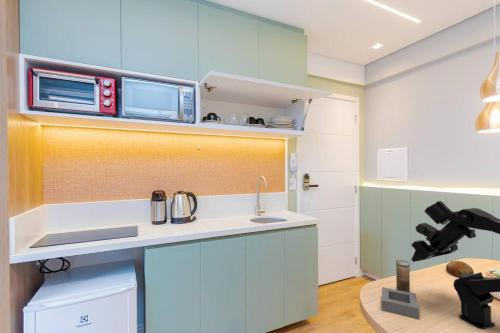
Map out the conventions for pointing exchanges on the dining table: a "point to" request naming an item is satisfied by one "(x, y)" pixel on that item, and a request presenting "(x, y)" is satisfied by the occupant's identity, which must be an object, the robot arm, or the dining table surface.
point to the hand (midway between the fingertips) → (420, 258)
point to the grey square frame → (400, 302)
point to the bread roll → (458, 268)
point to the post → (403, 275)
